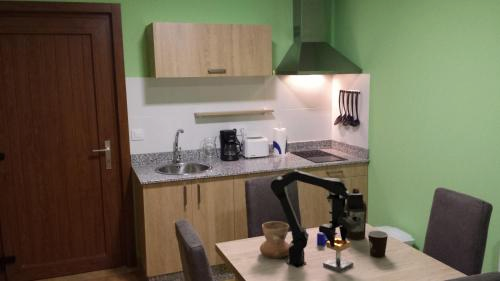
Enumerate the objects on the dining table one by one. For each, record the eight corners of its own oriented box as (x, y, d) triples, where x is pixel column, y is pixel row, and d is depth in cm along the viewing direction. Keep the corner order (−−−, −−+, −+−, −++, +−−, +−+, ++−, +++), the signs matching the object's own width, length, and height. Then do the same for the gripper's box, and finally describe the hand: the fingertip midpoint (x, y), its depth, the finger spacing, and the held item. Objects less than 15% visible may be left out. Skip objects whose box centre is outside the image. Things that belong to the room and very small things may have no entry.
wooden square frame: (339, 251, 188) (339, 246, 187) (326, 247, 193) (326, 241, 192) (350, 247, 192) (350, 241, 192) (336, 243, 197) (336, 237, 197)
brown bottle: (343, 233, 233) (343, 186, 230) (364, 233, 233) (364, 185, 229) (346, 240, 223) (346, 191, 219) (368, 240, 222) (369, 191, 219)
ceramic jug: (292, 262, 199) (292, 230, 197) (259, 262, 199) (259, 230, 198) (290, 247, 217) (290, 218, 215) (260, 247, 217) (259, 218, 216)
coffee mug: (388, 259, 199) (388, 237, 198) (368, 258, 201) (368, 236, 199) (386, 249, 210) (386, 228, 209) (366, 248, 212) (367, 228, 211)
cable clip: (324, 237, 229) (324, 225, 228) (332, 238, 226) (332, 227, 226) (314, 245, 219) (314, 233, 218) (322, 246, 216) (322, 234, 215)
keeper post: (340, 272, 187) (340, 255, 186) (323, 265, 194) (323, 249, 193) (353, 266, 193) (353, 249, 192) (336, 260, 200) (336, 243, 199)
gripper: (339, 218, 178) (339, 256, 180) (367, 208, 190) (367, 244, 192) (317, 212, 186) (318, 248, 189) (346, 203, 198) (345, 237, 201)
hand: (338, 244), depth 192 cm, fingers closed on wooden square frame, 7 cm apart
